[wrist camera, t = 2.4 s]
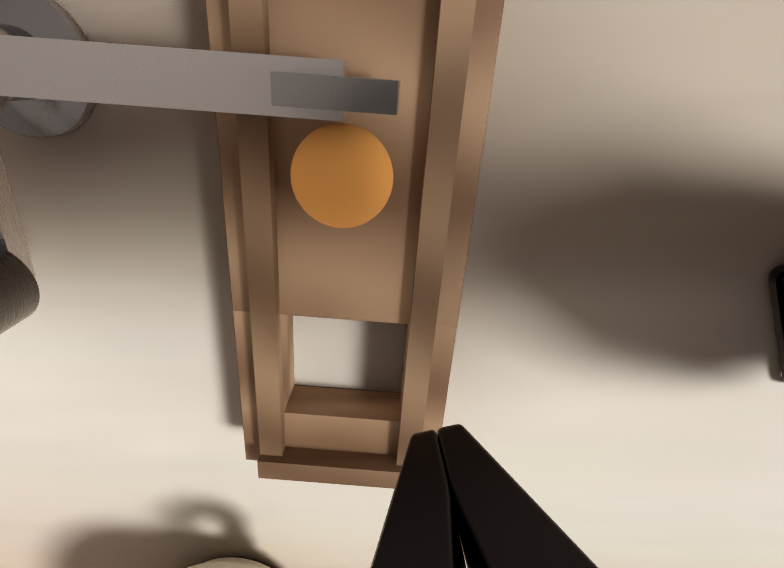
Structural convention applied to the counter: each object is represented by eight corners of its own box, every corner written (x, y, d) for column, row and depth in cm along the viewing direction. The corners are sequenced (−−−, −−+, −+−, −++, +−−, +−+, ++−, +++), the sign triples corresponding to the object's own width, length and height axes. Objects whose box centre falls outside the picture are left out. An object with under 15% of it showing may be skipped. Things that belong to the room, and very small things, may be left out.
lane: (226, -37, 15) (185, -62, 12) (496, -17, 15) (515, -38, 12) (258, 429, 23) (238, 476, 21) (433, 443, 23) (436, 491, 21)
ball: (409, 190, 16) (409, 216, 13) (329, 226, 17) (312, 258, 14) (369, 101, 15) (360, 108, 12) (285, 143, 16) (257, 159, 13)
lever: (-135, -14, 13) (-962, -150, 5) (404, 26, 13) (395, -51, 5) (-23, 306, 17) (-381, 497, 9) (382, 338, 17) (359, 556, 9)
